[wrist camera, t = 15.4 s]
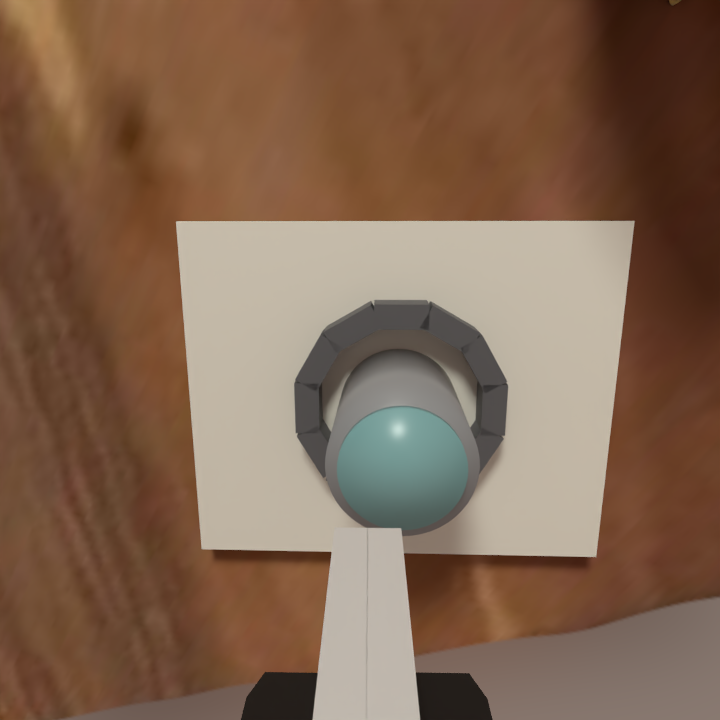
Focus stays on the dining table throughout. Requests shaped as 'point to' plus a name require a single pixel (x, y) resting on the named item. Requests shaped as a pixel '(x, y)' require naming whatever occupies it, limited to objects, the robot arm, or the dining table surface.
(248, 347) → the barrel board
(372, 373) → the teal capped cylinder
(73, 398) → the dining table surface
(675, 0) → the candy box
